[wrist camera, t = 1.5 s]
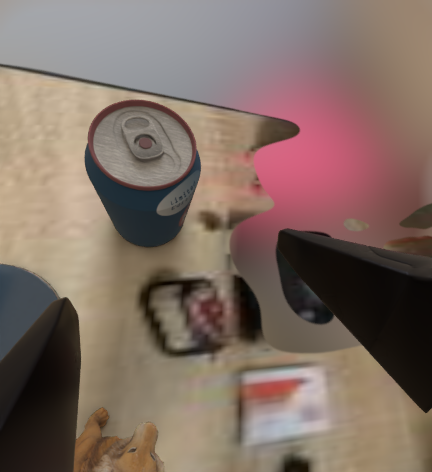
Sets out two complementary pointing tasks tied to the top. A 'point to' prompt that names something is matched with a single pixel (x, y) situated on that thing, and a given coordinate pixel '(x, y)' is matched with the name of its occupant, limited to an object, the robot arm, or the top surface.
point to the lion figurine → (116, 449)
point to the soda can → (143, 169)
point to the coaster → (20, 303)
